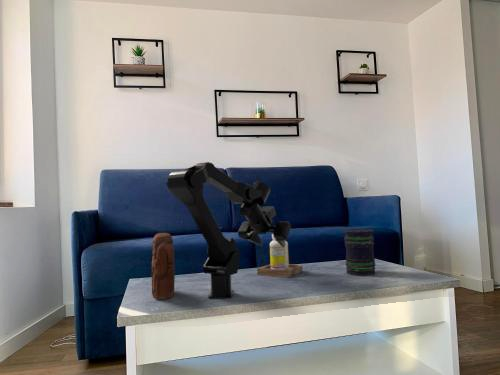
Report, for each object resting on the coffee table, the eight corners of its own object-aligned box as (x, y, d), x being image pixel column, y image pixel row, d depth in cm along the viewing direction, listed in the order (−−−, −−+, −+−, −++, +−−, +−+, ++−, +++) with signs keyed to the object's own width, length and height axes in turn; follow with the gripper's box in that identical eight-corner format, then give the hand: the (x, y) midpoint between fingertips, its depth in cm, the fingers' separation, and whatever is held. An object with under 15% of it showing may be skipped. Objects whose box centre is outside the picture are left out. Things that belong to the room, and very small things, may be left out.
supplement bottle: (278, 267, 130) (277, 233, 130) (292, 269, 125) (291, 233, 126) (266, 270, 125) (265, 234, 126) (280, 272, 120) (279, 235, 121)
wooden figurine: (151, 291, 105) (149, 232, 106) (172, 289, 107) (170, 231, 108) (153, 301, 94) (151, 235, 95) (177, 298, 96) (175, 233, 97)
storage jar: (378, 276, 114) (376, 231, 115) (348, 276, 116) (345, 231, 117) (372, 270, 124) (370, 228, 125) (344, 270, 126) (342, 229, 126)
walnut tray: (287, 277, 117) (286, 271, 117) (257, 274, 123) (257, 268, 124) (302, 271, 127) (302, 265, 127) (274, 268, 133) (274, 262, 133)
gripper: (287, 197, 113) (303, 228, 122) (241, 199, 124) (259, 228, 132) (276, 222, 106) (293, 254, 115) (228, 222, 117) (247, 251, 125)
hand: (272, 245), depth 122 cm, fingers open, 9 cm apart
